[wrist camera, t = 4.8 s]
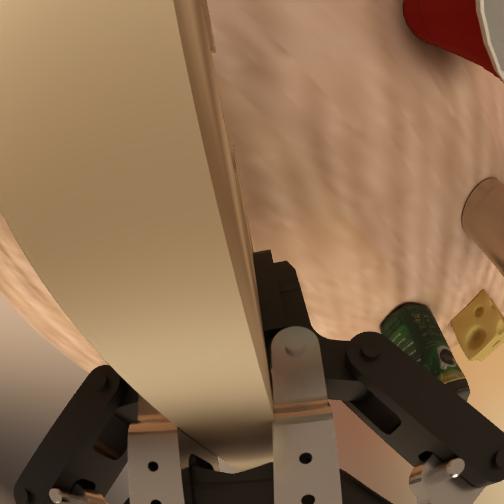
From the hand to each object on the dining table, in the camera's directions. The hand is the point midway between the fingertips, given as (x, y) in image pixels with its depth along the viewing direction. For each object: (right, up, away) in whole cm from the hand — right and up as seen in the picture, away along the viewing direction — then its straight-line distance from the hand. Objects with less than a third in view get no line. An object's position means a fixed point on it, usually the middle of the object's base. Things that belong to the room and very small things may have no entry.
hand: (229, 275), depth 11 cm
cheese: (+47, -11, +36) cm, 60 cm away
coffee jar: (+26, -10, +32) cm, 42 cm away
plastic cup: (+17, +22, +5) cm, 29 cm away
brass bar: (0, +1, +1) cm, 2 cm away
